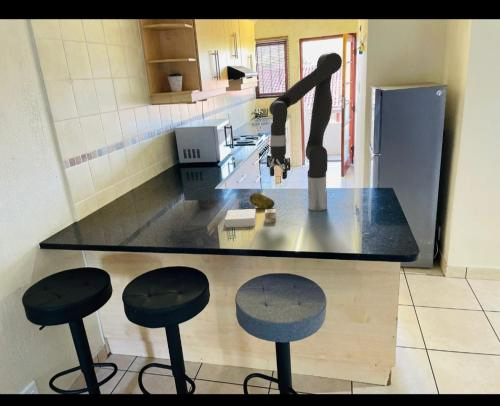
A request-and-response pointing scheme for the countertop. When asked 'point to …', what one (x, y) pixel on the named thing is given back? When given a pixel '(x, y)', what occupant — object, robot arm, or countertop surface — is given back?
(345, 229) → the countertop surface
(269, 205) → the potato
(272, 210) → the birch block
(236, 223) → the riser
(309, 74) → the robot arm
